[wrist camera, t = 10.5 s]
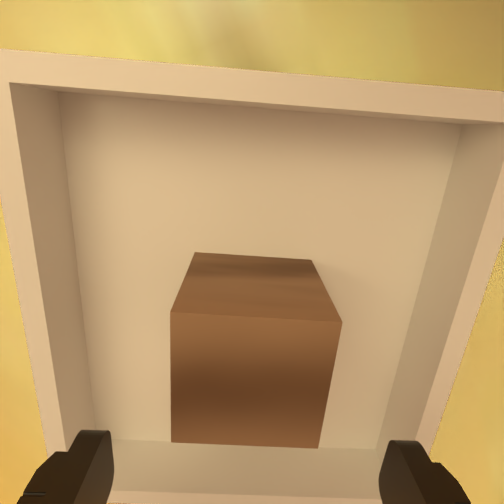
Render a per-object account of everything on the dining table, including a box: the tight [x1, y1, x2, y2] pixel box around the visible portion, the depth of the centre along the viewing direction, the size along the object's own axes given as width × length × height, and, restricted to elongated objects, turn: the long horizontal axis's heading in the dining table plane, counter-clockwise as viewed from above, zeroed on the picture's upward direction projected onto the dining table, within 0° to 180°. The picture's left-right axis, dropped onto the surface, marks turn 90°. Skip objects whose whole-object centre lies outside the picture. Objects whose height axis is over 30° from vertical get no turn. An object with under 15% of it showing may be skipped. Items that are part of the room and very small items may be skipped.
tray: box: [0, 49, 504, 504], centre depth 17 cm, size 22×20×4 cm
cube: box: [170, 252, 343, 449], centre depth 16 cm, size 6×6×6 cm
